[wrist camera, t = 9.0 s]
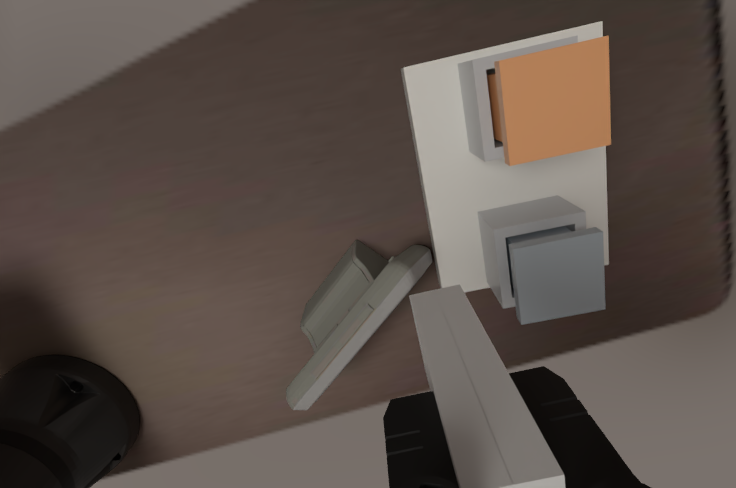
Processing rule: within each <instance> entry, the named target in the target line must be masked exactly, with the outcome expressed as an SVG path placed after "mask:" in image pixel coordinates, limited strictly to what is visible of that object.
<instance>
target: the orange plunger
mask: <svg viewBox="0 0 736 488" xmlns="http://www.w3.org/2000/svg"><path fill="white" fill-rule="evenodd" d="M494 66H495V73H491V74H487V83H488V92H489V100H490V109H491V118H492V127H493V135H494V139H496V140H499V141H501V142H503V150H504V159H505V164H507V165H509V166H513V165H517V164H522V163H527V162H532V161H536V160H541V159H546V158H550V157H555V156H560V155H565V154H569V153H574V152H579V151H583V150H588V149H593V148H597V147H602V146H607V145H611V121H610V77H609V36H604V37H599V38H595V39H591V40H586V41H582V42H578V43H573V44H569V45H565V46H560V47H556V48H552V49H547V50H543V51H539V52H534V53H530V54H526V55H521V56H517V57H513V58H508V59H504V60H500V61H495V62H494Z"/></svg>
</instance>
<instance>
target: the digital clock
mask: <svg viewBox="0 0 736 488" xmlns="http://www.w3.org/2000/svg"><path fill="white" fill-rule="evenodd" d="M431 263H432V255H431V251H430V249H429V248H427V247H425V246H423V245H412V246H410V247H409V248H408V249H406V250H405V251H403V252H402V253H401V254H399V255H398V256H396V257H394V256H392V257H391V258H390V259H389V261H388V260H386V259H385V258H383V257H382V256H380V255H379V254H378V253H376V252H375V251H373V250H372V249H370V248H369V247H367V246H366V245H364V244H363V243H361V242H360V241H358V240H355V241H354V243H353V244H352V245H351V247H350V248H349V249H348V251H347V252H346V253H345V254H344V256H343V257H342V258H341V260H340V261H339V262H338V264H337V265H336V266H335V268H334V269H333V270H332V271H331V273H330V274H329V275H328V277H327V278H326V279H325V281H324V282H323V283H322V284H321V286H320V287H319V288H318V290H317V291H316V292H315V294H314V295H313V296H312V298H311V299H310V300H309V301H308V303H307V304H306V306H305V309H304V313H303V316H302V320H301V325H300V327H301V330H302V331H303V332H304V333H305V334H306V335H307V337H308V339H309V340H310V343H311V345H312V347H313V350H314V355H313V356H312V358H311V359H310V360H309V361H308V363H307V364H306V365H305V366H304V368H303V369H302V370H301V371H300V372H299V374H298V375H297V376H296V377H295V379H294V380H293V381H292V382H291V384H290V385H289V386H288V387H287V389H286V397H287V402H288V404H289V406H290V407H291V408H292V409H293V410H308V409H309V408H310V407H311V405H312V404H313V403H314V402H316V401H317V400H318V399H319V397H320V396H321V395H322V394H323V393H324V391H325V390H326V389H327V388H328V387H329V386H330V384H331V383H332V382H333V381H334V380H335V379H336V377H337V376H338V375H339V374H340V373H341V371H342V370H343V369H344V368H345V367H346V366H347V364H348V363H349V362H350V361H351V360H352V359H353V357H354V356H355V355H356V354H357V353H358V351H359V350H360V349H361V348H362V347H363V346H364V344H365V343H366V342H367V341H368V340H369V339H370V337H371V336H372V335H373V334H374V333H375V331H376V330H377V329H378V328H379V327H380V326H381V324H382V323H383V322H384V321H385V320H386V319H387V317H388V316H389V315H390V314H391V313H392V311H393V310H394V309H395V308H396V307H397V306H398V304H399V303H400V302H401V301H402V300H403V299H404V297H405V296H406V295H407V294H408V293H409V291H410V290H411V289H412V288H413V287H414V285H415V284H416V283H417V282H418V280H419V279H420V278H421V277H422V275H423V274H424V273H425V272H426V270H427V268H428V267H429V266H430V264H431ZM346 329H347V330H346Z"/></svg>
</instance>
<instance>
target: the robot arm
mask: <svg viewBox="0 0 736 488" xmlns="http://www.w3.org/2000/svg"><path fill="white" fill-rule="evenodd" d="M409 297H410V302H411V307H412V311H413V316H414V320H415V325H416V329H417V334H418V339H419V343H420V348H421V352H422V357H423V362H424V366H425V371H426V375H427V379H428V383H429V387H430V392H425V393H420V394H416V395H411V396H406V397H401V398H396V399H392V400H390V403H389V405H388V408H387V410H386V412H385V415H384V418H383V420H384V431H385V439H386V453H387V464H388V476H389V486H390V488H650V487H649V486H647V485H645V484H642V483H641V482H640V481H639V480H638V479H637V478H636V477H635V476H634V475H633V474H632V472H631V470H630V469H629V468H628V466H627V465H626V464H625V462H624V461H623V460H622V458H621V457H620V455H619V454H618V453H617V451H616V450H615V449H614V447H613V446H612V444H611V443H610V442H609V440H608V439H607V438H606V437H605V435H604V434H603V432H602V431H601V429H600V428H599V427H598V426H597V424H596V423H595V421H594V420H593V419H592V417H591V416H590V415H588V413H587V410H586V409H585V408H584V406H583V405H582V403H581V402H580V401H579V400H577V397H576V395H575V394H574V393H573V391H572V390H571V388H570V387H569V386H568V384H567V383H566V382H565V380H564V379H563V378H561V377H560V376H558V375H556V374H555V373H553V372H552V371H550V370H549V369H547V368H546V367H538V368H533V369H529V370H524V371H519V372H515V373H508V371H507V370H506V368H505V366H504V364H503V362H502V360H501V359H500V357H499V355H498V353H497V351H496V349H495V348H494V346H493V344H492V342H491V340H490V339H489V337H488V335H487V333H486V331H485V329H484V328H483V326H482V324H481V322H480V320H479V319H478V317H477V315H476V313H475V311H474V309H473V308H472V306H471V304H470V302H469V300H468V298H467V297H466V295H465V293H464V291H463V289H462V288H461V286H460V284H459V285H454V286H450V287H445V288H441V289H436V290H432V291H427V292H422V293H418V294H413V295H409ZM139 426H140V420H139V413H138V409H137V406H136V404H135V402H134V400H133V398H132V396H131V395H130V393H129V392H128V390H127V389H126V388H125V387H124V386H123V385H122V384H121V383H120V382H119V381H118V380H117V379H116V378H115V377H114V376H112V375H111V374H110V373H108V372H107V371H105V370H104V369H102V368H100V367H98V366H96V365H94V364H92V363H90V362H87V361H84V360H81V359H78V358H74V357H69V356H61V355H46V356H39V357H35V358H31V359H28V360H26V361H24V362H22V363H20V364H18V365H17V366H16V367H14V368H13V369H12V370H10V371H9V372H8V373H7V374H5V375H4V376H3V377H2V378H0V488H90V487H91V486H92V485H93V484H95V483H96V482H97V481H98V480H100V479H101V478H102V477H103V476H105V475H106V474H107V473H108V472H110V471H111V470H112V469H113V468H115V467H116V466H117V465H118V464H119V463H120V462H121V461H122V459H123V458H124V457H125V455H126V454H127V452H128V451H129V449H130V448H131V446H132V445H133V443H134V442H135V440H136V438H137V435H138V432H139Z"/></svg>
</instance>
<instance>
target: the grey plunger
mask: <svg viewBox="0 0 736 488" xmlns="http://www.w3.org/2000/svg"><path fill="white" fill-rule="evenodd" d="M505 240H506V249H507V258H508V267H509V275H510V284H511V285H512V287H513V288H514V296H515V305H516V314H517V319H518V320H519V322H520V323H521V325H523V324H529V323H534V322H540V321H545V320H550V319H556V318H561V317H567V316H572V315H577V314H583V313H588V312H594V311H599V310H604V309H606V308H605V276H604V244H603V231H601V230H600V229H598V228H597V227H593V228H588V229H583V230H578V231H573V232H572V231H571V230H570V229H568V228H567V227H565V226H561V227H556V228H551V229H546V230H541V231H536V232H531V233H526V234H521V235H516V236H511V237H506V238H505Z"/></svg>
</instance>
